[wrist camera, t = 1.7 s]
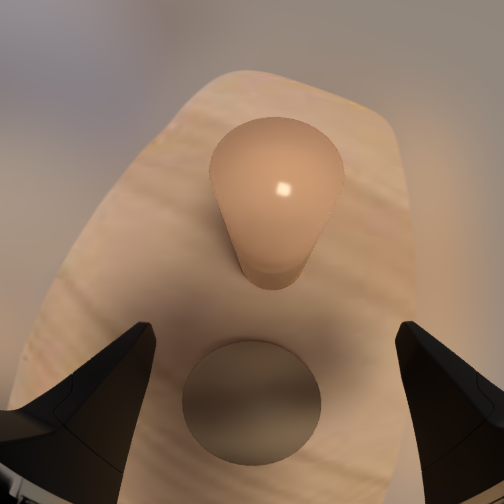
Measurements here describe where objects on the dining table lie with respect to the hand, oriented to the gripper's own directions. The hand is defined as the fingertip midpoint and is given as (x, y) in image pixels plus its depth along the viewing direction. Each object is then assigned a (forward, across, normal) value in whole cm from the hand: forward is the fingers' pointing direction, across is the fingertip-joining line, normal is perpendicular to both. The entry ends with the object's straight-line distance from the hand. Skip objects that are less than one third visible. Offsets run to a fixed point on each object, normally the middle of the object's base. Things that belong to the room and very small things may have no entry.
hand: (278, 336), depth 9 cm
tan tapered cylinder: (+13, 0, +4) cm, 14 cm away
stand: (+5, +1, +12) cm, 13 cm away
